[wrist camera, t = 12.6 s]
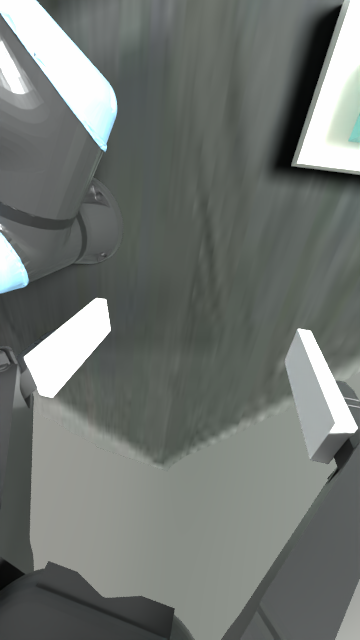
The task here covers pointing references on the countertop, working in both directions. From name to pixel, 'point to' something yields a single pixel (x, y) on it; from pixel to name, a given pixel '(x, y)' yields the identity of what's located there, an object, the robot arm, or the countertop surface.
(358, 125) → the small crate
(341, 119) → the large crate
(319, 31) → the countertop surface
